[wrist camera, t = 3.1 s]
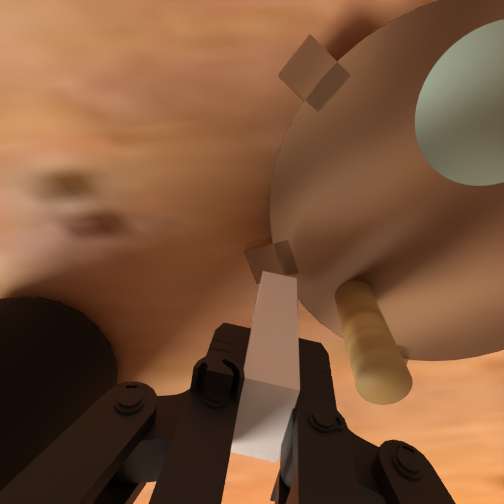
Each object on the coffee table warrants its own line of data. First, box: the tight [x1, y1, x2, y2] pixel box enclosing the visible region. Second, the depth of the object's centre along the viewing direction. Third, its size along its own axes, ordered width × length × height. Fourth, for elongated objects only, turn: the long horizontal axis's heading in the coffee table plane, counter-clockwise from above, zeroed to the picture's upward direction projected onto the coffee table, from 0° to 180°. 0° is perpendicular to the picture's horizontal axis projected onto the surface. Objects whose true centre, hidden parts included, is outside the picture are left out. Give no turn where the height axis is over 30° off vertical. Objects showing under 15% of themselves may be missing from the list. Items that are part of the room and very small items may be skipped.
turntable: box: [245, 0, 504, 405], centre depth 13 cm, size 19×17×7 cm
